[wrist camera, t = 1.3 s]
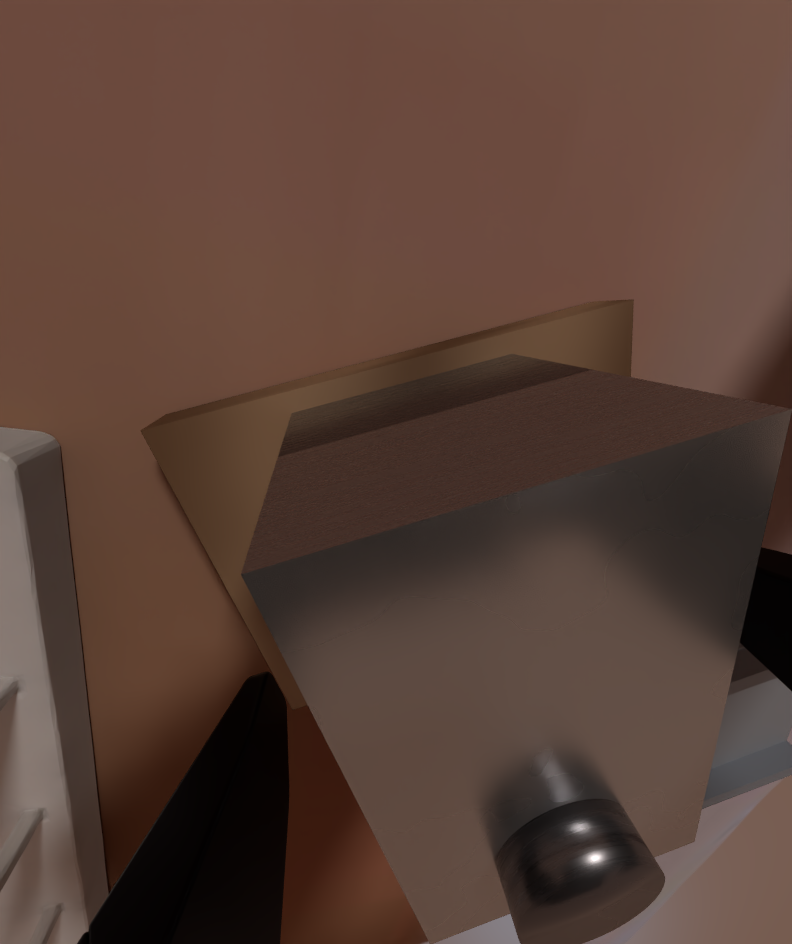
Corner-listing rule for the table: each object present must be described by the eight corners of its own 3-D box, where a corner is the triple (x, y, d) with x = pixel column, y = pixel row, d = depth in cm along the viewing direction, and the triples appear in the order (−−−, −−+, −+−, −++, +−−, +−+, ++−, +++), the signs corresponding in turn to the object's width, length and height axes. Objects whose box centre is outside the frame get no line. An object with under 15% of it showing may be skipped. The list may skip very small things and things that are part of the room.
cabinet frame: (791, 593, 17) (861, 634, 15) (753, 722, 22) (804, 770, 19) (553, 674, 17) (590, 731, 14) (562, 793, 21) (591, 852, 18)
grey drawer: (511, 353, 9) (906, 431, 3) (536, 618, 13) (734, 898, 7) (291, 412, 9) (218, 647, 3) (383, 669, 12) (443, 1017, 6)
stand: (593, 301, 11) (633, 299, 9) (594, 574, 15) (622, 600, 13) (166, 414, 10) (140, 430, 8) (295, 671, 14) (292, 710, 12)
